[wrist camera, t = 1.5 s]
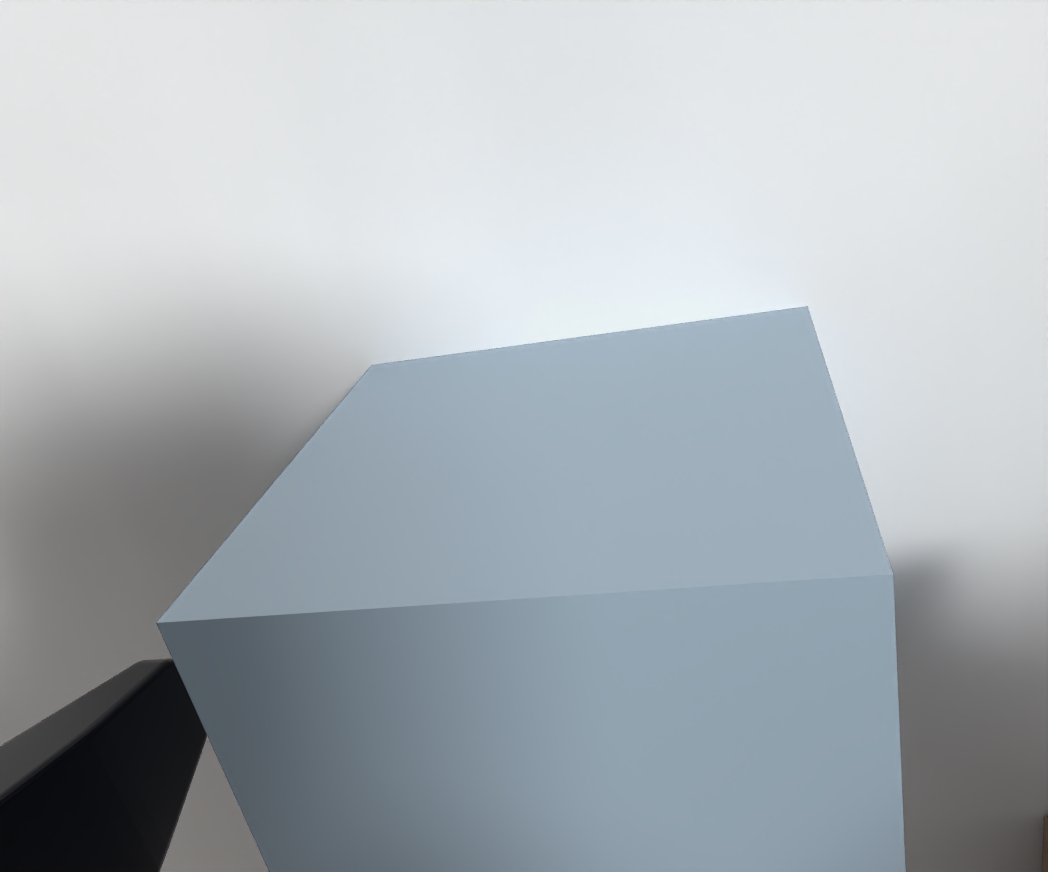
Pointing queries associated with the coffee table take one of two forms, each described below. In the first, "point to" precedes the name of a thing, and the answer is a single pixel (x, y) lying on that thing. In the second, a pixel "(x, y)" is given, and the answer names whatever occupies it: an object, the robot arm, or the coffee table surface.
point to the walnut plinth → (1045, 846)
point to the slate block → (563, 619)
